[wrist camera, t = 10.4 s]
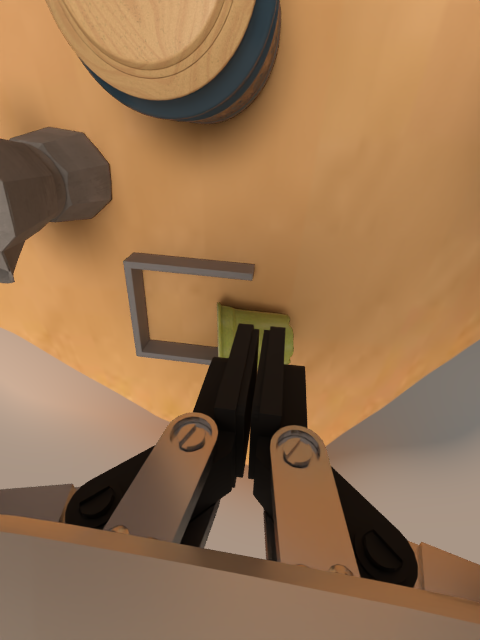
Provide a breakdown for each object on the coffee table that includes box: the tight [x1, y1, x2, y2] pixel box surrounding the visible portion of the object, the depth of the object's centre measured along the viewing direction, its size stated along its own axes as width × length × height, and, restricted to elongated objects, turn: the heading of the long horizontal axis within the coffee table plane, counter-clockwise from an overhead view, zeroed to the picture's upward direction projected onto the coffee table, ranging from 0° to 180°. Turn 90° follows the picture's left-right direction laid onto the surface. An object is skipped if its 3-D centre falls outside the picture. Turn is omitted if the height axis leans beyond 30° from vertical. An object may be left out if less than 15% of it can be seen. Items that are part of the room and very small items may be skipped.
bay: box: [123, 253, 255, 365], centre depth 40 cm, size 15×14×3 cm
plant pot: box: [217, 302, 294, 369], centre depth 38 cm, size 9×9×9 cm
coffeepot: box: [0, 127, 111, 283], centre depth 26 cm, size 15×9×18 cm, turn 14°
